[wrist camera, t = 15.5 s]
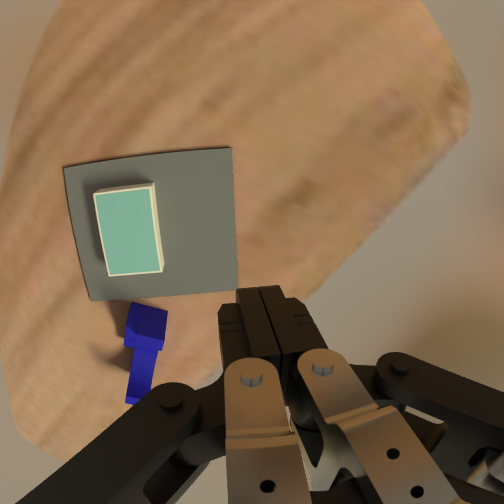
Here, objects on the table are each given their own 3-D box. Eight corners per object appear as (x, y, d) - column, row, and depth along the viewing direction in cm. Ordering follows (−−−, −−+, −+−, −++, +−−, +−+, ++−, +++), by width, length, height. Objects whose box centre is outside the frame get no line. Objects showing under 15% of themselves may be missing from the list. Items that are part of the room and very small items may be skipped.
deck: (154, 182, 31) (99, 189, 30) (151, 186, 28) (93, 193, 28) (164, 263, 34) (113, 267, 33) (162, 272, 32) (108, 276, 31)
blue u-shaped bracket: (132, 300, 36) (123, 330, 30) (167, 310, 37) (164, 340, 32) (120, 369, 40) (113, 399, 34) (150, 376, 41) (147, 408, 35)
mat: (65, 167, 28) (63, 168, 28) (231, 147, 31) (231, 148, 30) (92, 299, 35) (91, 301, 34) (238, 288, 37) (238, 289, 37)
